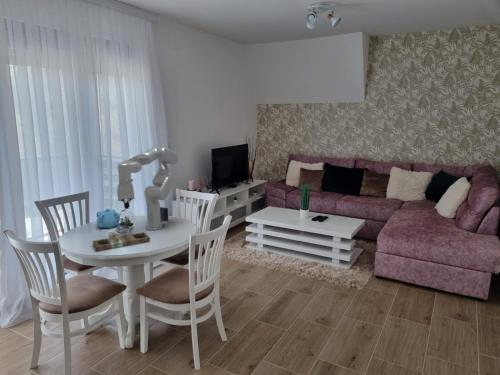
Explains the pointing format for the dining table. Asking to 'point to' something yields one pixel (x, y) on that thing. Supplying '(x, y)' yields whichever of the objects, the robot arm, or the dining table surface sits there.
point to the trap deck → (121, 241)
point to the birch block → (113, 236)
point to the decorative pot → (107, 218)
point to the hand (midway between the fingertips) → (127, 208)
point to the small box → (164, 214)
